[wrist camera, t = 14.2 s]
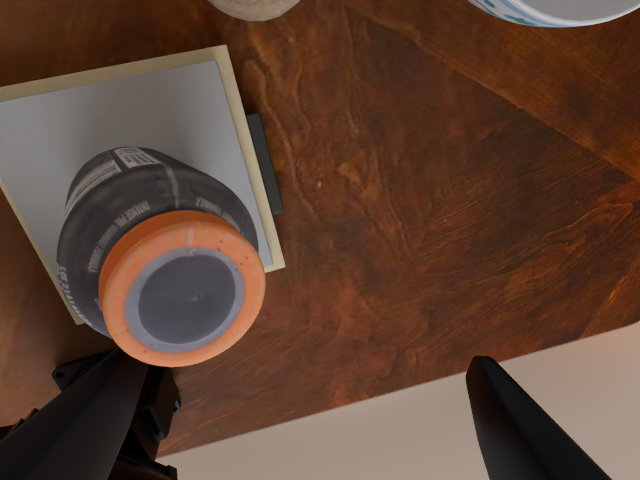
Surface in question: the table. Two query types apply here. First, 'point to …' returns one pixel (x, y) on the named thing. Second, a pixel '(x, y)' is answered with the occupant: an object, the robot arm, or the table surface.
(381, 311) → the table surface
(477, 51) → the table surface
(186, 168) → the pill bottle
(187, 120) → the scale
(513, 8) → the chinaware
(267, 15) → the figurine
